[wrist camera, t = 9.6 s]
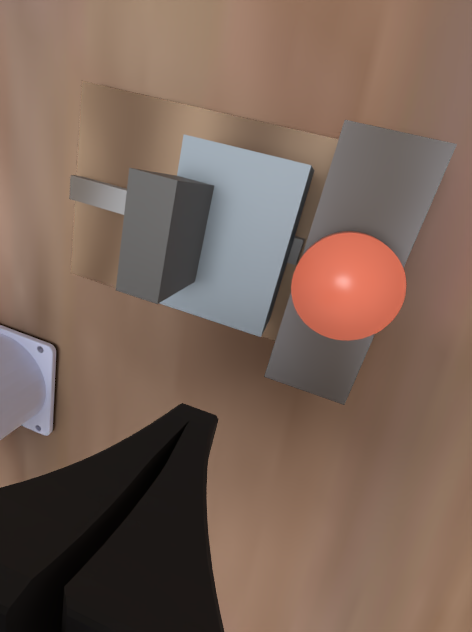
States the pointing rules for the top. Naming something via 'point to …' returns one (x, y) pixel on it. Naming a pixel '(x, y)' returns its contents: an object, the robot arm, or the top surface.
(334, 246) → the button
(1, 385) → the robot arm
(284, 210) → the carriage
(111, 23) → the top surface
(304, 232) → the rail bed
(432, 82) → the top surface
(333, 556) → the top surface
